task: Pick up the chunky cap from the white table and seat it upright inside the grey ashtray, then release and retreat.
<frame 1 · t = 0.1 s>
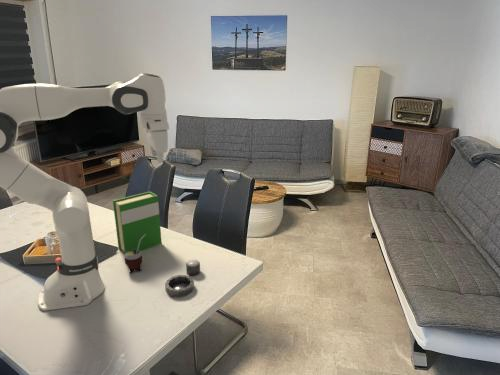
hand: (157, 159, 138), 48 cm above the table, fingers open, 8 cm apart
grey ashtray: (179, 288, 144), on the table
mate gourd: (136, 269, 157), on the table
hardback book: (140, 246, 175), on the table
cap: (193, 272, 155), on the table
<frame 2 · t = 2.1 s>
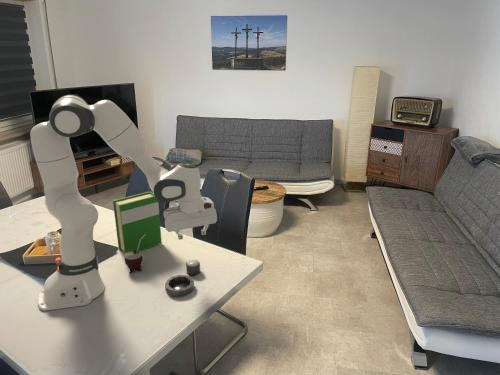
hand: (192, 236, 149), 16 cm above the table, fingers open, 8 cm apart
nothing on the table moved.
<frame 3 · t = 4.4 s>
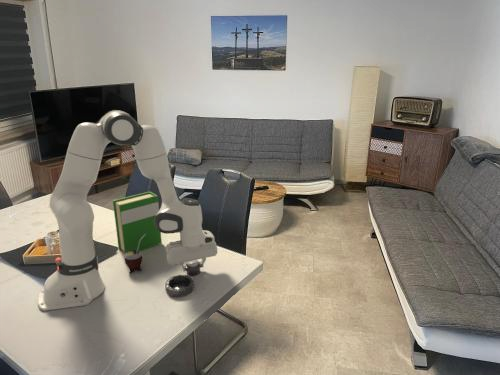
hand: (193, 268, 154), 2 cm above the table, fingers closed on cap, 5 cm apart
cap: (193, 272, 155), on the table, touching gripper
everything else where it was.
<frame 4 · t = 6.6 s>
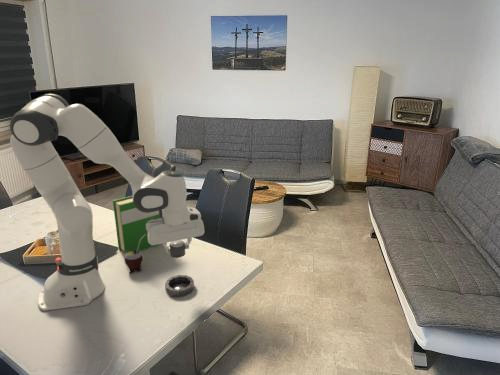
hand: (177, 250, 138), 17 cm above the table, fingers closed on cap, 5 cm apart
cap: (177, 253, 139), point 15 cm above the table, touching gripper
everything else where it was.
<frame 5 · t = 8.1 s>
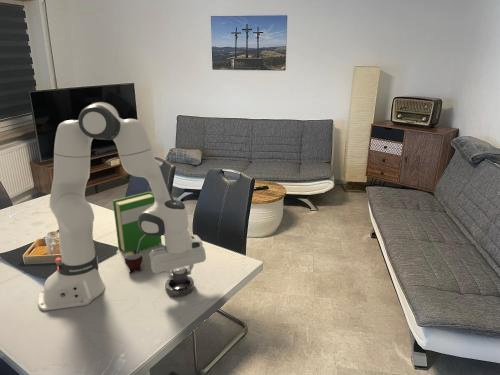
hand: (179, 276, 143), 5 cm above the table, fingers closed on cap, 5 cm apart
cap: (180, 279, 143), point 4 cm above the table, touching gripper
everything else where it was.
when the fingers open (4 cm above the table, at t = 9.2 s): cap drops 2 cm, resting on grey ashtray.
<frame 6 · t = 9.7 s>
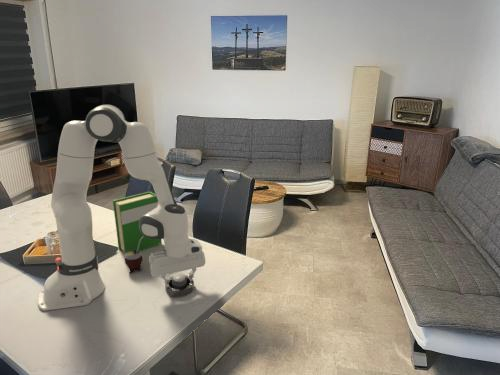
hand: (179, 280, 143), 4 cm above the table, fingers open, 8 cm apart
cap: (179, 287, 144), point 1 cm above the table, touching grey ashtray
everything else where it was.
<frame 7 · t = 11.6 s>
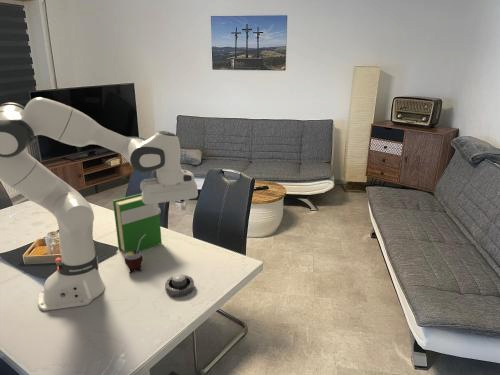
hand: (171, 211, 141), 29 cm above the table, fingers open, 8 cm apart
nothing on the table moved.
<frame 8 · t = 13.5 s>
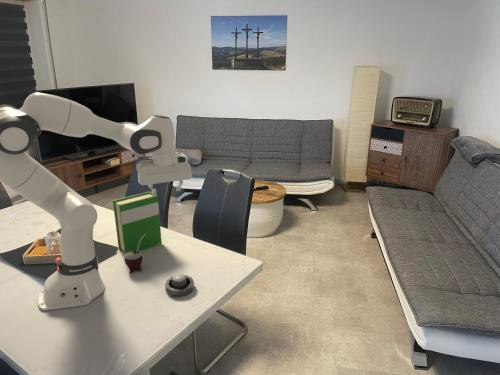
hand: (166, 192, 148), 33 cm above the table, fingers open, 8 cm apart
nothing on the table moved.
at the end: cap 0.1 cm from the grey ashtray (horizontally); cap point 0.5 cm above the table; cap tilted 0° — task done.
